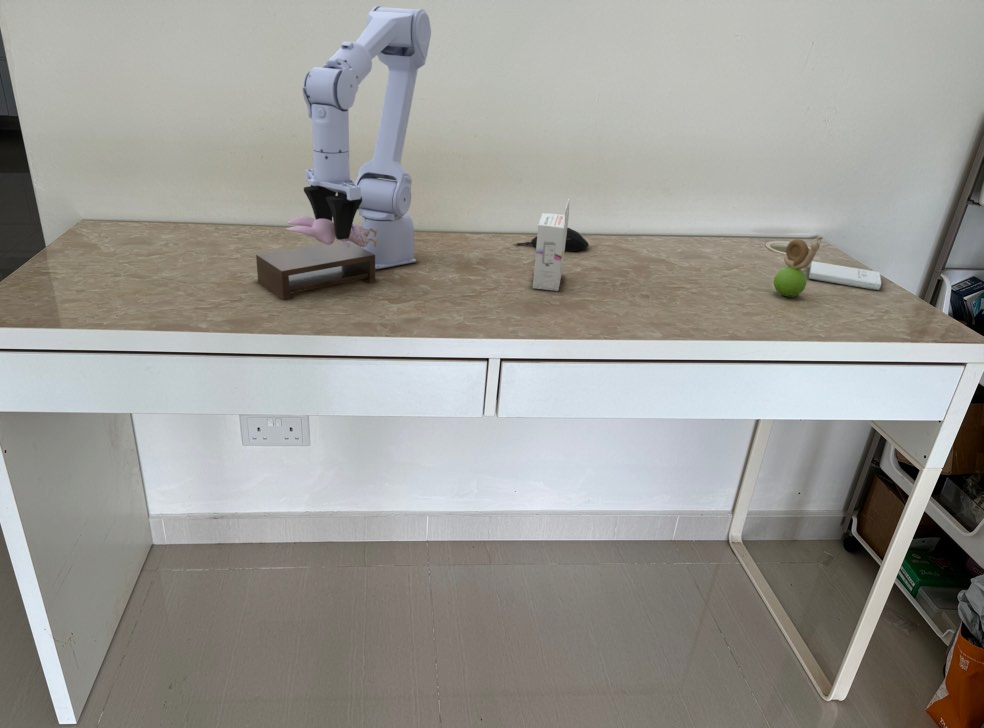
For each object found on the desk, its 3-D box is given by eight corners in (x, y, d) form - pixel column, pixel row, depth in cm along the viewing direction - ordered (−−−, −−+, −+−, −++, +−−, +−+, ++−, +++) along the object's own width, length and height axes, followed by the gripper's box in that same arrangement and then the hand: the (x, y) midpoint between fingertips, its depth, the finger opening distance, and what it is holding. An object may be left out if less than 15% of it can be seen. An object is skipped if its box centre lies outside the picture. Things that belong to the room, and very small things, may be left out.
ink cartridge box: (535, 273, 145) (543, 195, 138) (561, 276, 145) (571, 198, 138) (530, 288, 138) (539, 207, 131) (558, 291, 137) (568, 209, 130)
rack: (347, 265, 145) (346, 239, 142) (375, 281, 138) (375, 254, 136) (258, 282, 135) (255, 254, 133) (283, 299, 128) (281, 271, 126)
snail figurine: (792, 304, 137) (810, 238, 131) (764, 292, 142) (780, 228, 136) (813, 300, 139) (832, 235, 133) (784, 289, 144) (801, 225, 138)
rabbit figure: (374, 236, 134) (287, 221, 130) (381, 209, 129) (290, 193, 126) (374, 261, 130) (284, 246, 126) (381, 234, 125) (288, 218, 122)
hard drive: (809, 268, 156) (877, 278, 152) (808, 279, 149) (879, 291, 145) (811, 260, 155) (879, 270, 151) (810, 271, 149) (881, 283, 144)
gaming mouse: (516, 240, 164) (517, 221, 162) (585, 243, 164) (588, 225, 162) (518, 249, 158) (519, 230, 157) (589, 252, 159) (592, 233, 157)
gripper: (287, 143, 125) (291, 226, 132) (331, 160, 115) (334, 248, 122) (325, 140, 129) (328, 220, 136) (371, 156, 119) (372, 242, 126)
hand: (333, 233), depth 129 cm, fingers closed on rabbit figure, 5 cm apart
